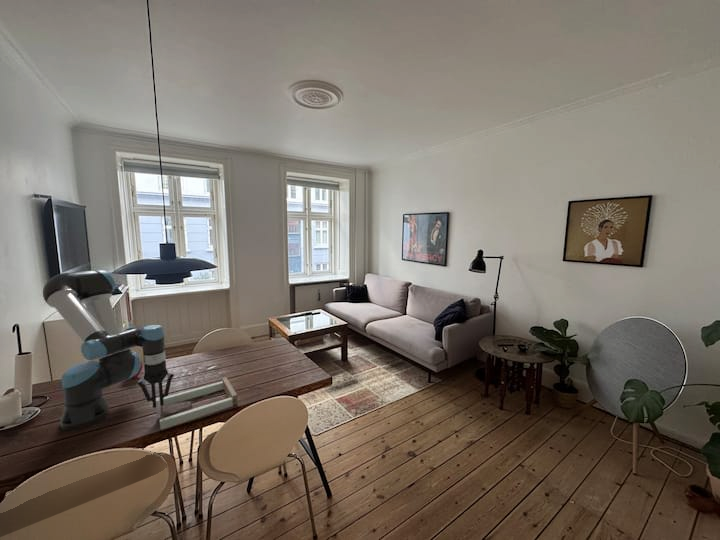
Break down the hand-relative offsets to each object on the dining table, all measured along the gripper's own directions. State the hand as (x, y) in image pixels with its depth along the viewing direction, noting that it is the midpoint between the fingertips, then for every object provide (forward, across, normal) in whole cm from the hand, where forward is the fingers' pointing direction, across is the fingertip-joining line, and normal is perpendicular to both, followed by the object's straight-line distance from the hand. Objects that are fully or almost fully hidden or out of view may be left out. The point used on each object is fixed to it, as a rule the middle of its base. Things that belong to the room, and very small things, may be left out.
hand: (158, 413), depth 126 cm
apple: (+2, -10, +48) cm, 49 cm away
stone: (+2, +6, -2) cm, 7 cm away
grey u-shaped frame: (+2, +15, 0) cm, 15 cm away
